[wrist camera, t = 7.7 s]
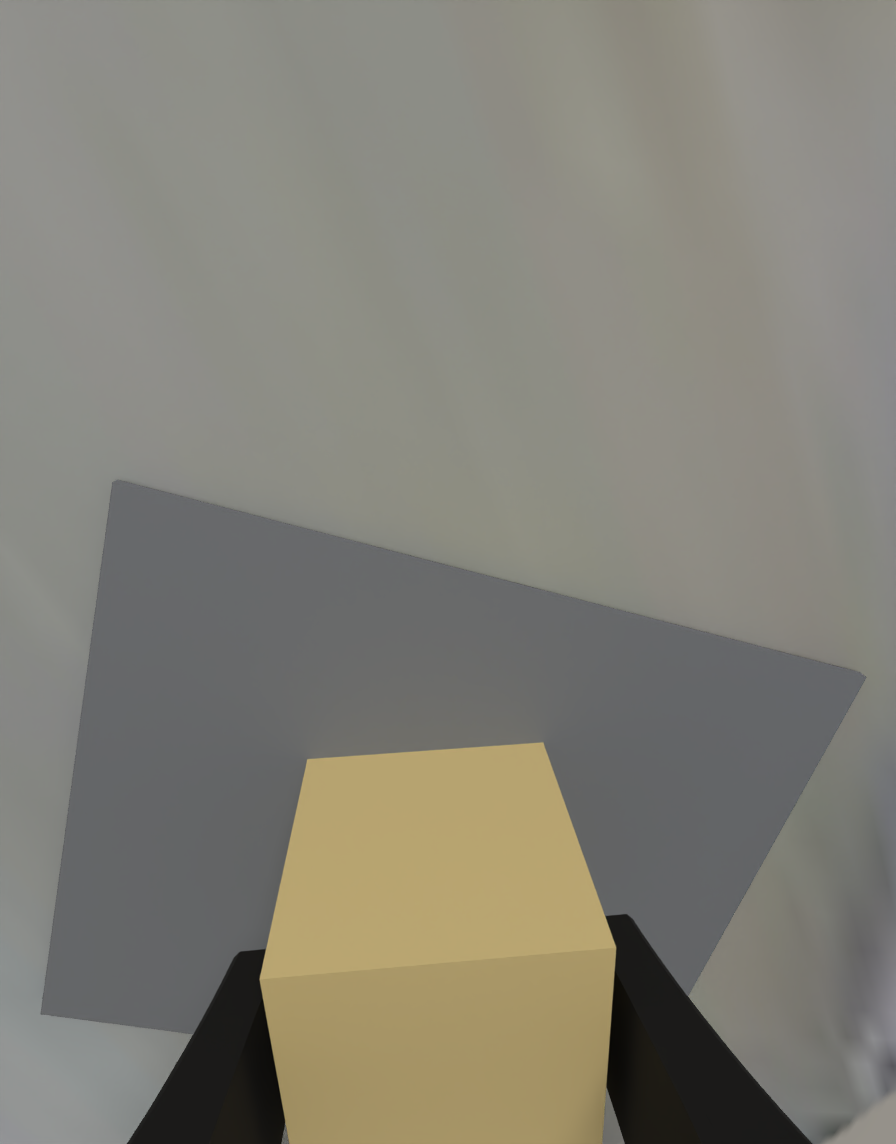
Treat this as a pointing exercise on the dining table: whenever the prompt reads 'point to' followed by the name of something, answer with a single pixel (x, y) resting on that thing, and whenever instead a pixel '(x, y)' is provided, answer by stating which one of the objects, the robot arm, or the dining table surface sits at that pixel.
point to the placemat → (388, 740)
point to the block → (438, 955)
